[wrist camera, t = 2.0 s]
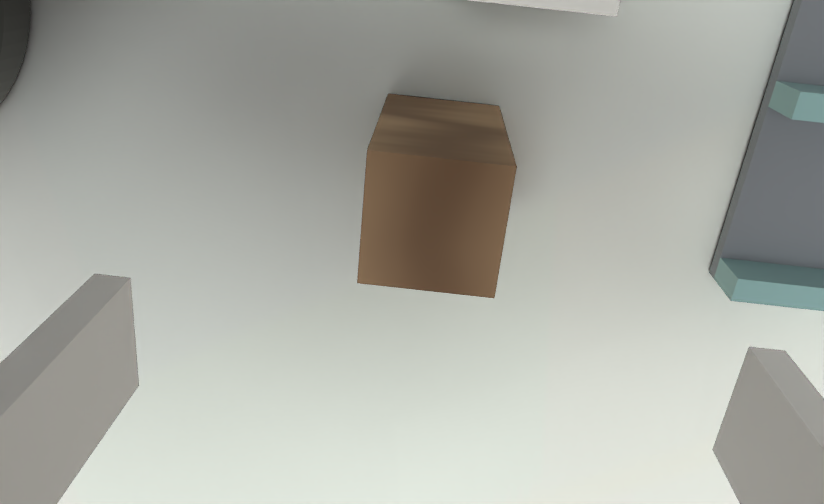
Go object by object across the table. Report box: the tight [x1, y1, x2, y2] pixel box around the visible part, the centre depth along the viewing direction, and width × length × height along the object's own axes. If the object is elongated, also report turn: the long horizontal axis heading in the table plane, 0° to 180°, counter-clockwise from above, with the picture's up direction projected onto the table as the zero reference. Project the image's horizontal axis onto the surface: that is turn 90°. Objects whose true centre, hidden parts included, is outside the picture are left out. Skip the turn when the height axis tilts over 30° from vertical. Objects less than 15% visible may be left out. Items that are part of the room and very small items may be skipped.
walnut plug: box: [357, 94, 517, 298], centre depth 25 cm, size 4×4×8 cm
